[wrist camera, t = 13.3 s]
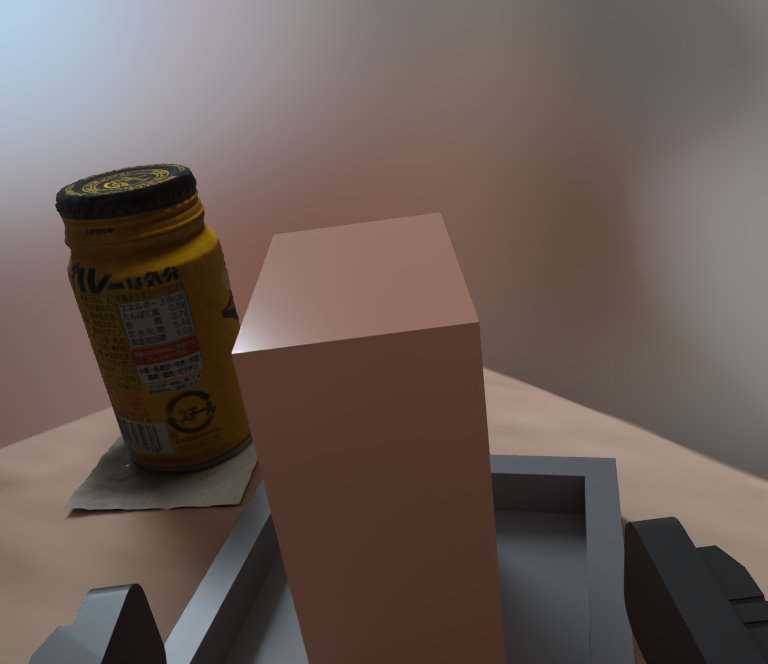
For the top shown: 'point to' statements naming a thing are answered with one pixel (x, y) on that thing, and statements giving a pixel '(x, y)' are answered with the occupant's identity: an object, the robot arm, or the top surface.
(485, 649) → the brick
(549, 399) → the top surface
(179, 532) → the top surface
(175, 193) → the condiment
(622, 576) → the tray
